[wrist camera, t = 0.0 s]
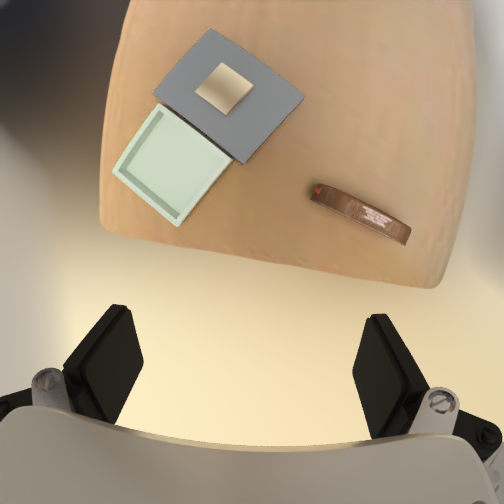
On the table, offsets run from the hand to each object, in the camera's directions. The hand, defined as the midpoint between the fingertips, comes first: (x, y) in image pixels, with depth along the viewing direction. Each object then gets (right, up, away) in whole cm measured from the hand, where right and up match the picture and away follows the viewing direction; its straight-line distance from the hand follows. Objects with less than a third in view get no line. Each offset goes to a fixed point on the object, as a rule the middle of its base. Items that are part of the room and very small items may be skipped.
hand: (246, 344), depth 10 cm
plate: (-3, +25, +24) cm, 35 cm away
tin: (+15, +10, +29) cm, 34 cm away
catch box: (-11, +16, +28) cm, 34 cm away
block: (-3, +24, +21) cm, 32 cm away
